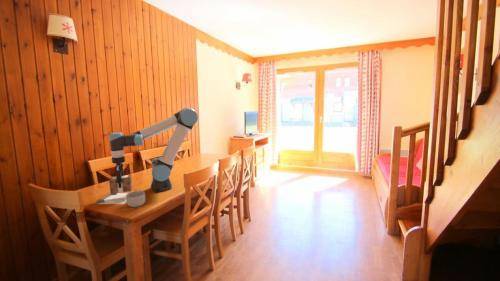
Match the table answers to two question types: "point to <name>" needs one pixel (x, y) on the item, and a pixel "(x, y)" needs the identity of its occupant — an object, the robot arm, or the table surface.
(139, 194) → the teacup
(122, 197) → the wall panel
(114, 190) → the wooden box
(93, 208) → the table surface
